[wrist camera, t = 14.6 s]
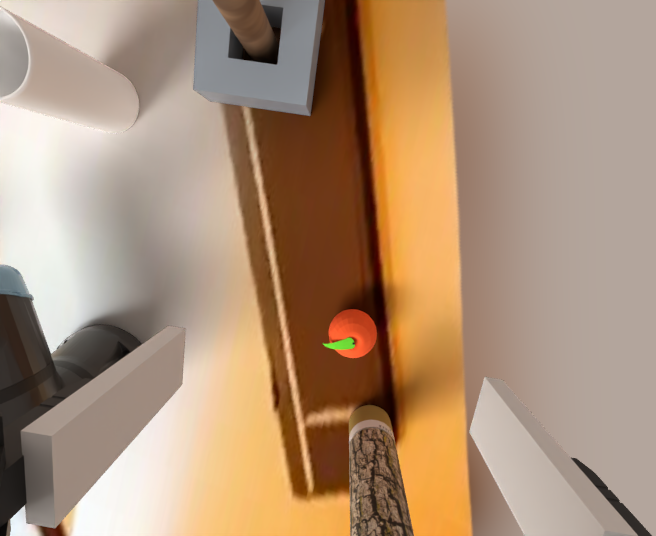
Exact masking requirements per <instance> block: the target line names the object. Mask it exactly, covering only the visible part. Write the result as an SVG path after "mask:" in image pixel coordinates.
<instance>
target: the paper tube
mask: <svg viewBox="0 0 656 536" xmlns="http://www.w3.org/2000/svg"><path fill="white" fill-rule="evenodd" d="M349 469H350V536H414V534H413V529H412V524H411V519H410V514H409V509H408V504H407V499H406V494H405V489H404V484H403V479H402V475H401V470H400V465H399V460H398V455H397V450H396V445H395V440H394V435H393V431H392V426H391V421H390V418H389V416H388V414H387V413H386V412H385V411H384V410H383V409H381V408H380V407H377V406H374V405H365V406H362V407H359V408H358V409H356V410H355V411H354V412H353V413H352V415H351V417H350V420H349Z"/></svg>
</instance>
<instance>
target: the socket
mask: <svg viewBox="0 0 656 536" xmlns="http://www.w3.org/2000/svg"><path fill="white" fill-rule="evenodd" d="M260 2H261V5H262V7H263V9H264V12H265V14H266V16H267V19H268V21H269V23H270V26H271V27H275V28H281V35H280V45H279V54H278V64H277V65H275V64H268V63H261V62H254V61H247V60H242V57H243V46H242V44H241V43H240V41H239V40H238V38H237V37H236V35H235V34H234V32H233V31H232V29H231V28H230V26H229V25H228V23H227V22H226V20H225V19H224V17H223V16H222V14H221V13H220V11H219V10H218V8H217V7H216V5H215V4H214V2H213V1H212V0H198V11H197V30H196V48H195V67H194V85H193V89H194V90H195V91H196V92H198V93H199V94H201V95H202V96H203V97H205V98H206V99H207V100H209V101H211V102H218V103H225V104H232V105H239V106H246V107H252V108H259V109H266V110H273V111H280V112H287V113H294V114H300V115H307V116H311V108H312V100H313V92H314V84H315V76H316V68H317V61H318V53H319V45H320V37H321V29H322V21H323V13H324V5H325V0H260Z"/></svg>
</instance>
